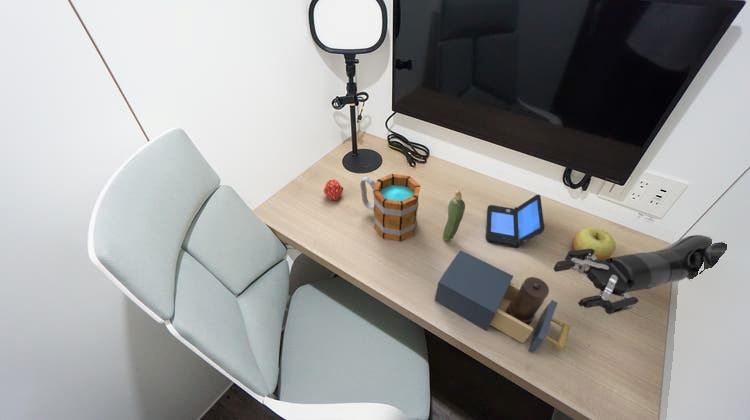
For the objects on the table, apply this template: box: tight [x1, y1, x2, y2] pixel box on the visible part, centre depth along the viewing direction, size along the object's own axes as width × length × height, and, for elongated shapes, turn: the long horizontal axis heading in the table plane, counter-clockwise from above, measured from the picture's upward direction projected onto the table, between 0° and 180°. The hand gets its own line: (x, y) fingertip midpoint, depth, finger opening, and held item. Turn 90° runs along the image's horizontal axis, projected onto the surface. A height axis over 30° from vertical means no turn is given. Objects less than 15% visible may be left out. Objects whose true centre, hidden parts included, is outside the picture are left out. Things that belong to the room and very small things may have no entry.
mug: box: [359, 173, 421, 242], centre depth 94 cm, size 20×14×15 cm
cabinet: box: [434, 249, 514, 332], centre depth 76 cm, size 14×12×9 cm
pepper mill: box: [505, 276, 550, 325], centre depth 68 cm, size 6×6×14 cm
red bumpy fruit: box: [323, 179, 344, 201], centre depth 106 cm, size 6×7×8 cm
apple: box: [571, 226, 616, 260], centre depth 86 cm, size 10×10×8 cm
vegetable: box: [442, 189, 466, 242], centre depth 86 cm, size 4×4×20 cm
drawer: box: [489, 281, 571, 354], centre depth 71 cm, size 17×10×7 cm, turn 54°
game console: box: [485, 194, 545, 249], centre depth 93 cm, size 16×13×9 cm
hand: (567, 284), depth 66 cm, fingers open, 8 cm apart
